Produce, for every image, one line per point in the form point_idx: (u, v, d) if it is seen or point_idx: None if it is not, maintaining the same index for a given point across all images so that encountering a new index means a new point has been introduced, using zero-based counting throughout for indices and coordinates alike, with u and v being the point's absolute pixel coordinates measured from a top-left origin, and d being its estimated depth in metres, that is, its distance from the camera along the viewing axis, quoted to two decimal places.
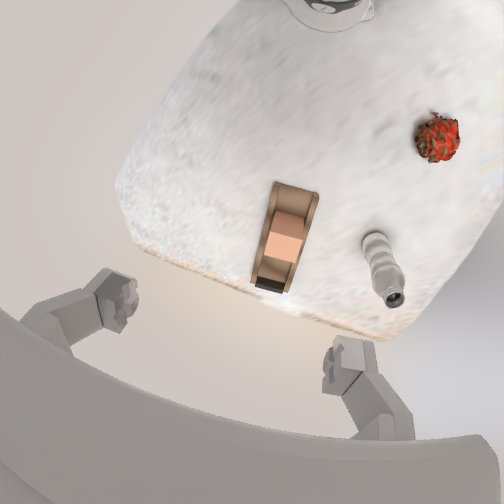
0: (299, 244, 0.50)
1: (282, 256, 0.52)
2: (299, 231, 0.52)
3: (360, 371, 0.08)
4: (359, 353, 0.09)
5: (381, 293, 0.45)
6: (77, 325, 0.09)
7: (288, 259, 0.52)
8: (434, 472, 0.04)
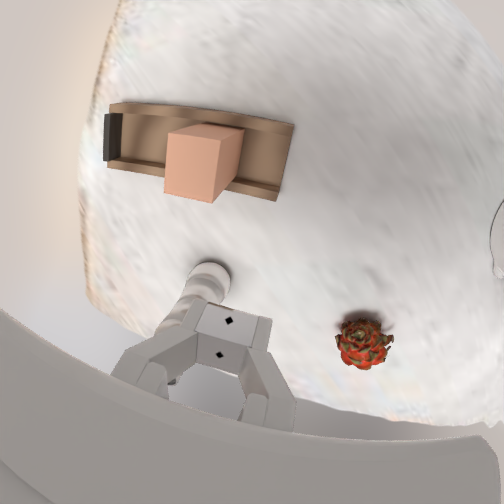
0: (202, 198, 0.26)
1: (172, 168, 0.25)
2: (221, 186, 0.28)
3: (244, 346, 0.09)
4: (249, 328, 0.09)
5: None
6: (173, 366, 0.08)
7: (168, 180, 0.25)
8: (434, 472, 0.04)
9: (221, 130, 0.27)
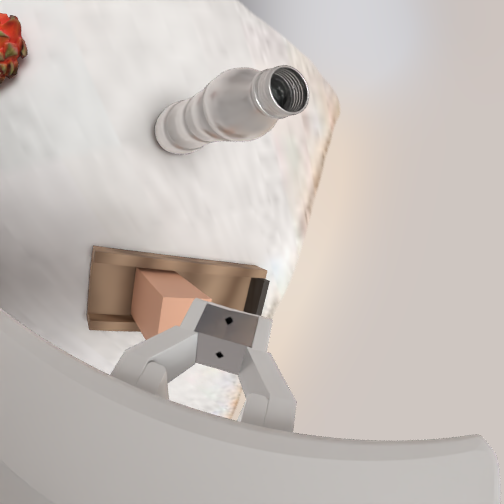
0: (172, 301, 0.24)
1: None
2: (152, 292, 0.26)
3: (244, 346, 0.09)
4: (249, 328, 0.09)
5: (271, 120, 0.19)
6: (173, 366, 0.08)
7: None
8: (434, 472, 0.04)
9: None
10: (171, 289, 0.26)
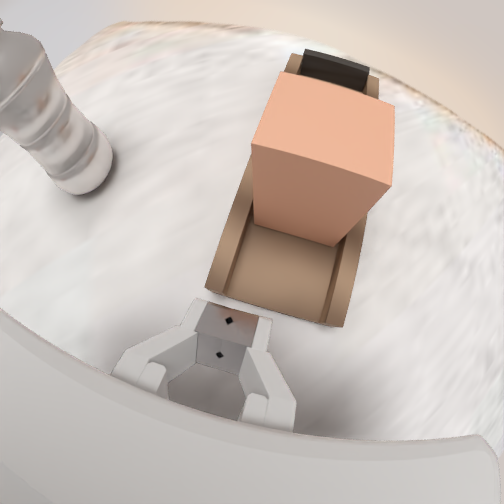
0: (265, 127, 0.11)
1: (330, 93, 0.12)
2: (266, 181, 0.14)
3: (244, 346, 0.09)
4: (249, 328, 0.09)
5: (8, 35, 0.07)
6: (173, 366, 0.08)
7: (306, 82, 0.12)
8: (434, 472, 0.04)
9: None
10: None
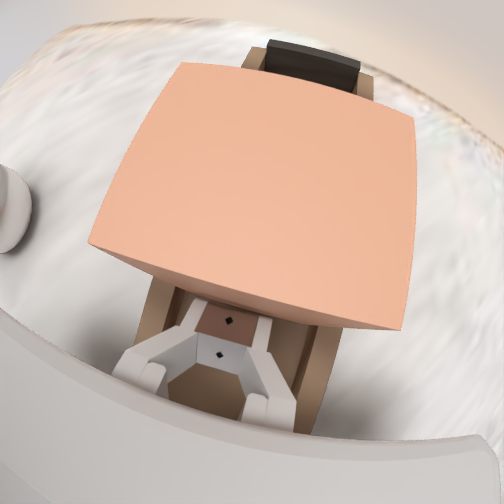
0: (118, 198, 0.05)
1: (277, 95, 0.06)
2: (163, 277, 0.08)
3: (244, 346, 0.09)
4: (249, 328, 0.09)
5: None
6: (173, 366, 0.08)
7: (228, 76, 0.06)
8: (434, 472, 0.04)
9: None
10: None
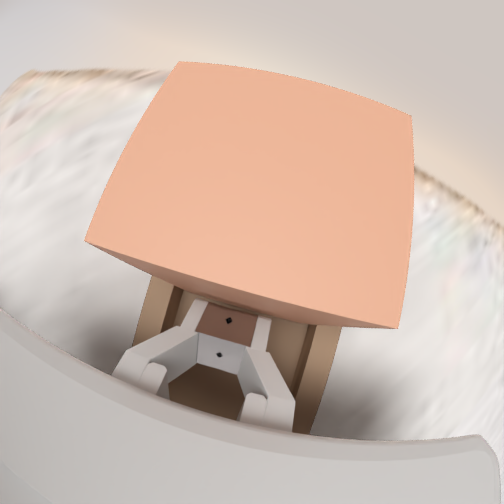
0: (115, 197, 0.05)
1: (273, 93, 0.06)
2: (161, 276, 0.08)
3: (243, 346, 0.09)
4: (248, 328, 0.09)
5: None
6: (174, 366, 0.08)
7: (225, 75, 0.06)
8: (434, 472, 0.04)
9: None
10: None
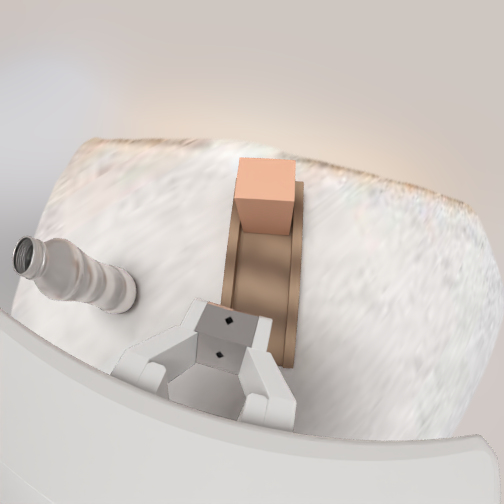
0: (238, 189, 0.28)
1: (263, 164, 0.29)
2: (244, 210, 0.31)
3: (244, 346, 0.09)
4: (249, 328, 0.09)
5: (53, 252, 0.21)
6: (173, 366, 0.08)
7: (252, 161, 0.29)
8: (434, 472, 0.04)
9: None
10: None
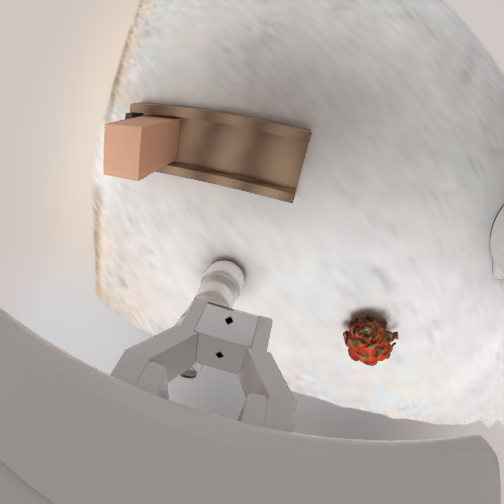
0: (130, 176, 0.28)
1: (108, 153, 0.27)
2: (151, 167, 0.30)
3: (244, 346, 0.09)
4: (249, 328, 0.09)
5: None
6: (173, 366, 0.08)
7: (106, 163, 0.28)
8: (434, 472, 0.04)
9: (154, 120, 0.30)
10: None
